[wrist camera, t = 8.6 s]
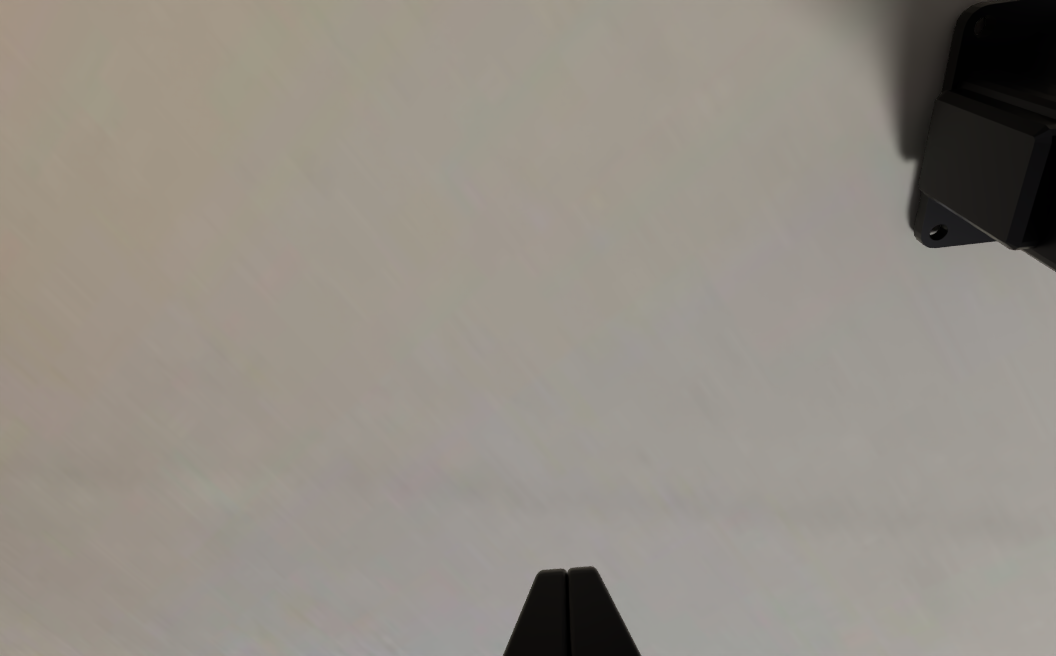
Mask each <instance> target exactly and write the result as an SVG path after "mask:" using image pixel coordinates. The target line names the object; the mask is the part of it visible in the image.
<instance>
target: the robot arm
mask: <svg viewBox="0 0 1056 656" xmlns="http://www.w3.org/2000/svg"><path fill="white" fill-rule="evenodd" d="M984 16H985V18H986V25H985V27H984V29H983V30H982V31H981V32H980V33H979V34H977V35H975V34H974V27H975V25H976V23H977V22H978V21H979V20H980V19H981V18H982V17H984ZM918 187H919V189H920V190H921V191H922V192H921V197H920V202H919V207H918V212H917V217H916V222H915V227H914V236H915V237H916V239H917V240H918V241H919V242H921V243H922V244H923V245H925V246H927V247H929V248H940V247H949V246H958V245H967V244H976V243H984V242H993V241H998V242H999V243H1001V244H1002V245H1004V246H1005V247H1007V248H1009V249H1011V250H1022V251H1024V252H1025V253H1027V254H1028V255H1030V256H1031V257H1033V258H1035V259H1036V260H1038V261H1039V262H1041V263H1043V264H1044V265H1046V266H1047V267H1049V268H1050V269H1052V270H1054V271H1055V272H1056V0H998V1H991V2H984V3H979V4H976V5H973V6H971V7H969V8H968V9H967V10H965V11H964V12H963V13H962V15H961V16H960V17H959V19H958V20H957V23H956V26H955V28H954V33H953V38H952V43H951V48H950V53H949V58H948V63H947V68H946V73H945V78H944V83H943V88H942V93H941V95H940V96H939V97H938V98H937V100H936V101H935V104H934V109H933V114H932V119H931V124H930V129H929V134H928V139H927V144H926V149H925V155H924V160H923V165H922V170H921V175H920V180H919V186H918ZM937 225H941V226H940V228H939V230H938V231H937V232H936V233H935V234H932V235H930V232H931V230H932V229H933V228H934V227H935V226H937ZM503 656H641V654H640V652H639V651H638V649H637V647H636V645H635V643H634V641H633V639H632V637H631V635H630V633H629V631H628V629H627V627H626V625H625V623H624V621H623V619H622V617H621V615H620V613H619V612H618V610H617V608H616V606H615V604H614V602H613V600H612V598H611V596H610V594H609V592H608V590H607V588H606V586H605V584H604V582H603V580H602V578H601V576H600V574H599V573H598V571H597V569H596V568H594V567H592V566H589V567H576V568H570V569H569V570H568V572H566V570H564V569H550V570H541V571H540V572H539V573H538V574H537V575H536V577H535V580H534V582H533V584H532V587H531V589H530V592H529V594H528V596H527V599H526V601H525V604H524V606H523V609H522V611H521V613H520V616H519V618H518V621H517V623H516V625H515V628H514V630H513V633H512V635H511V637H510V640H509V642H508V645H507V647H506V649H505V652H504V654H503Z"/></svg>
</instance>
